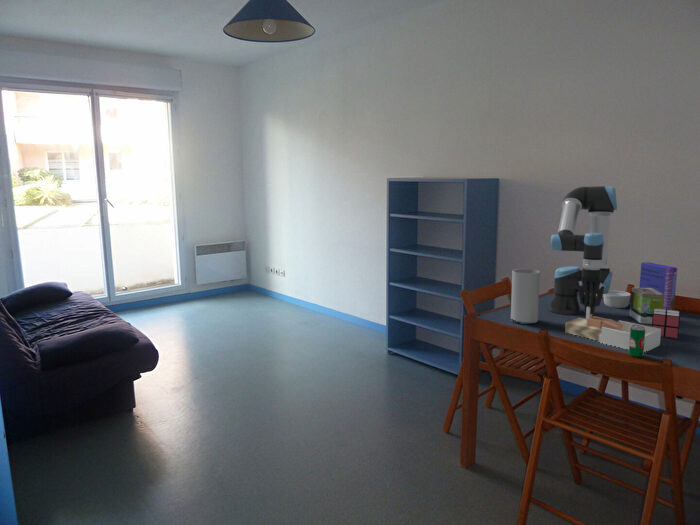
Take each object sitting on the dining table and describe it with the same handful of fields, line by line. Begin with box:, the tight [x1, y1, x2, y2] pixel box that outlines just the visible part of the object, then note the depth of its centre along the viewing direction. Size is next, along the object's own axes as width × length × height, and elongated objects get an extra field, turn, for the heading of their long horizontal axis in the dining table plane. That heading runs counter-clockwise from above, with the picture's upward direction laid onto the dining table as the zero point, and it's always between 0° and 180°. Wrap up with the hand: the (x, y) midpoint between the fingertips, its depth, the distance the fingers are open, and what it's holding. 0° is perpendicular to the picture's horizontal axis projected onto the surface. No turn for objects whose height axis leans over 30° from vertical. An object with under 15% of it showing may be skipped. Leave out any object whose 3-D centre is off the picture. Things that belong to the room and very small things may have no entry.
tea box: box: [629, 287, 665, 325], centre depth 243 cm, size 15×10×15 cm
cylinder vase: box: [510, 268, 541, 323], centre depth 245 cm, size 12×12×25 cm
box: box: [598, 320, 662, 353], centre depth 210 cm, size 18×16×7 cm
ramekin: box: [603, 290, 631, 309], centre depth 271 cm, size 13×13×7 cm
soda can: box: [628, 324, 645, 358], centre depth 196 cm, size 5×5×12 cm
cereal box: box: [638, 262, 678, 311], centre depth 258 cm, size 17×5×24 cm, turn 14°
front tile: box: [601, 318, 623, 331], centre depth 216 cm, size 6×6×3 cm
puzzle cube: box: [651, 309, 681, 339], centre depth 222 cm, size 10×10×10 cm
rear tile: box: [587, 315, 608, 328], centre depth 220 cm, size 6×6×3 cm
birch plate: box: [564, 317, 602, 342], centre depth 224 cm, size 16×12×5 cm
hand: (588, 320), depth 223 cm, fingers closed
